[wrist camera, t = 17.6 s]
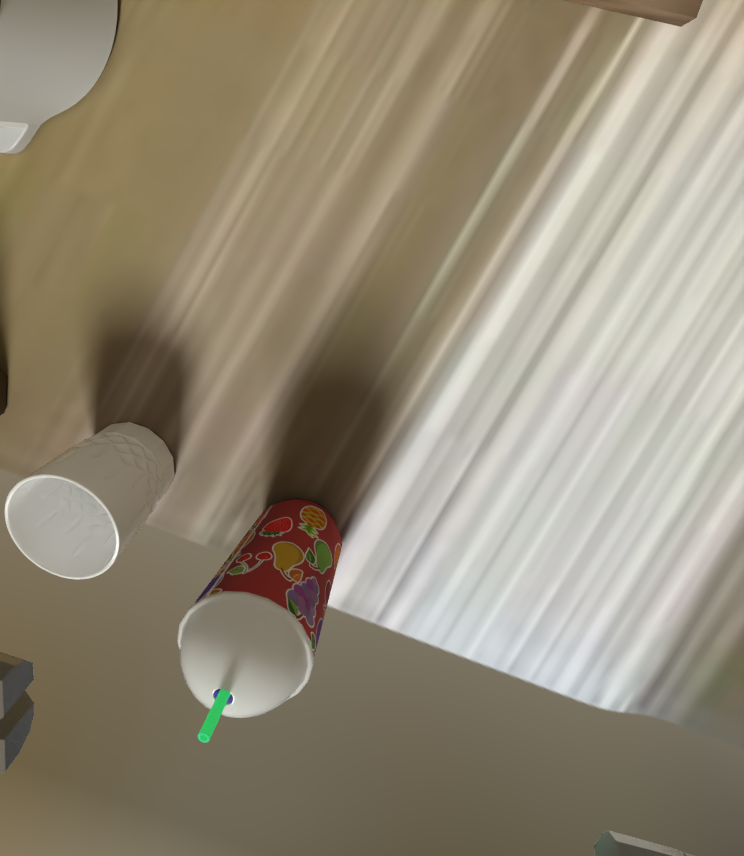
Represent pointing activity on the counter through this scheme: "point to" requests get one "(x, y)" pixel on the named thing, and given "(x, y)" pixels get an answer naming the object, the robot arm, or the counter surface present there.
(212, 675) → the smoothie
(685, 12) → the tray
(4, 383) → the beer bottle
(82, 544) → the white cup
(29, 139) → the robot arm
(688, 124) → the counter surface
